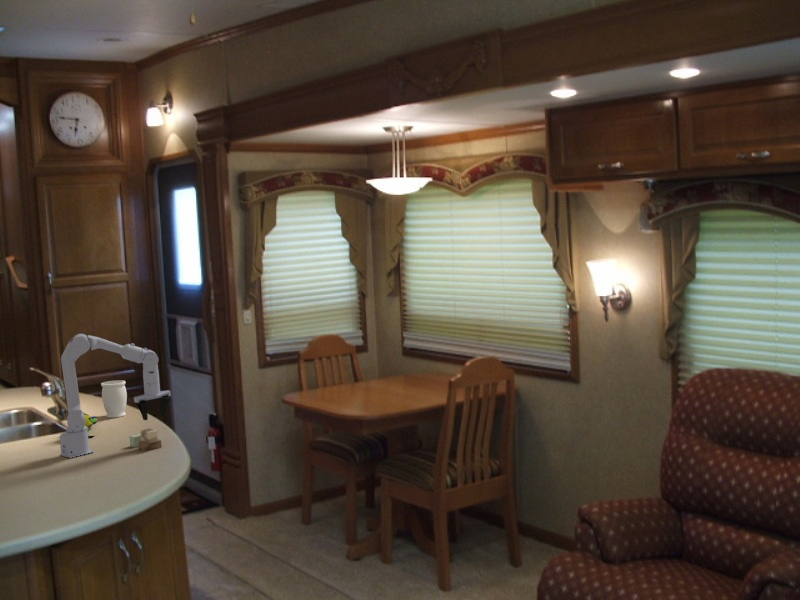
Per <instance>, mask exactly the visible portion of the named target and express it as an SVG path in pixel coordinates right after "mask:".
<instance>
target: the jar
mask: <svg viewBox="0 0 800 600" xmlns="http://www.w3.org/2000/svg"><path fill="white" fill-rule="evenodd" d="M126 383H127V382H126V380H123V379H121V380H120V379H119V380H109V381H108V380H107V381H103V382H101V383H100V386H101V387H102V389H101V400H102V403H103V407H104V410H105V412H106V415H105V417H106V418H110V419H115V418H116V417H117V418H121V417H124V416H126V415H127V413H126V408H127V400H128V399H127V398H128V394H127V393H128V392H127V388H126V386H125V385H126ZM117 418H116V419H117Z"/></svg>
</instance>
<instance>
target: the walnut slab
mask: <svg viewBox="0 0 800 600" xmlns="http://www.w3.org/2000/svg"><path fill="white" fill-rule="evenodd" d="M162 445H163V444H162V439H160V438H157V442H152V443H146V442H143V441H139V442H138V446H139V447H138V450H140V449H141V451H142V450H143V451H142V452H146V451H145V450H147V451H150V450H151V449H152V450H156V449H160V448H162ZM152 450H151V451H152Z"/></svg>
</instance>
